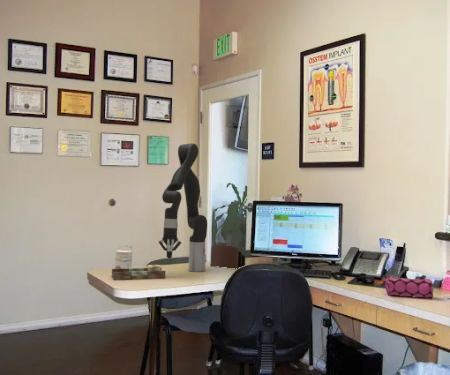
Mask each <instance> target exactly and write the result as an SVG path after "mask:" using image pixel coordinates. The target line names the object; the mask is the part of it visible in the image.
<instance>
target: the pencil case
mask: <svg viewBox="0 0 450 375" xmlns="http://www.w3.org/2000/svg"><path fill="white" fill-rule="evenodd" d="M386 292H387V293H388V294H389V295H388V296H390V295H403V296H402V297H407V296H415V297H414V298H417V297H433V298H434V288H433V281H432V280H431V279H429V278H424V279H419V278H417V279H416V278H415V279H414V278H405V277H404V278H403V277H396V276H393V275H389V274H387V277H386V280H385V293H386ZM387 293H386V294H387Z"/></svg>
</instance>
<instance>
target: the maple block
mask: <svg viewBox="0 0 450 375" xmlns="http://www.w3.org/2000/svg"><path fill="white" fill-rule="evenodd" d="M147 268H148V271H161V268H162V266H161V265H159V264H147Z"/></svg>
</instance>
